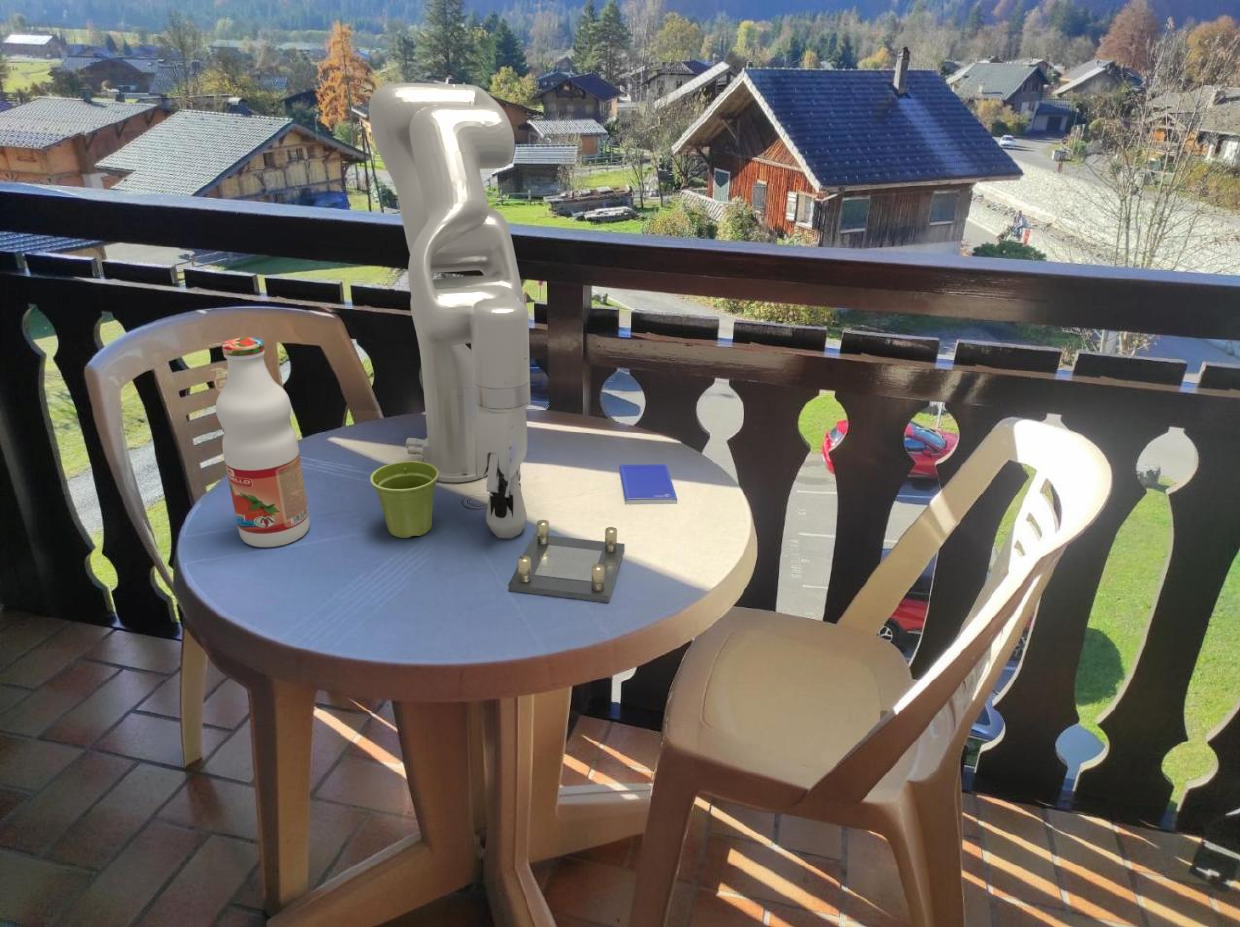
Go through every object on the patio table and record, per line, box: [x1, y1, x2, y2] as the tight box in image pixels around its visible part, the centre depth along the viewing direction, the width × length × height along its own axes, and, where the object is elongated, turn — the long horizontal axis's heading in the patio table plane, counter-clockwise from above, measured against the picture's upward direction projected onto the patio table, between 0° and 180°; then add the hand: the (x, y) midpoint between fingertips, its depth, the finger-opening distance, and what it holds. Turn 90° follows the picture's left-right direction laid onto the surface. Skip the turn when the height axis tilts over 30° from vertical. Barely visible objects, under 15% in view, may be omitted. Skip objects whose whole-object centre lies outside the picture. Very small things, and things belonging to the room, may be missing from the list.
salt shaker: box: [485, 472, 528, 539], centre depth 115 cm, size 6×6×13 cm
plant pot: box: [369, 460, 439, 539], centre depth 116 cm, size 9×9×9 cm
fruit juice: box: [215, 337, 311, 548], centre depth 109 cm, size 9×9×28 cm
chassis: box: [508, 519, 626, 604], centre depth 108 cm, size 13×13×4 cm
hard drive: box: [618, 464, 678, 505], centre depth 132 cm, size 2×8×12 cm
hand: (506, 512), depth 116 cm, fingers closed on salt shaker, 3 cm apart
